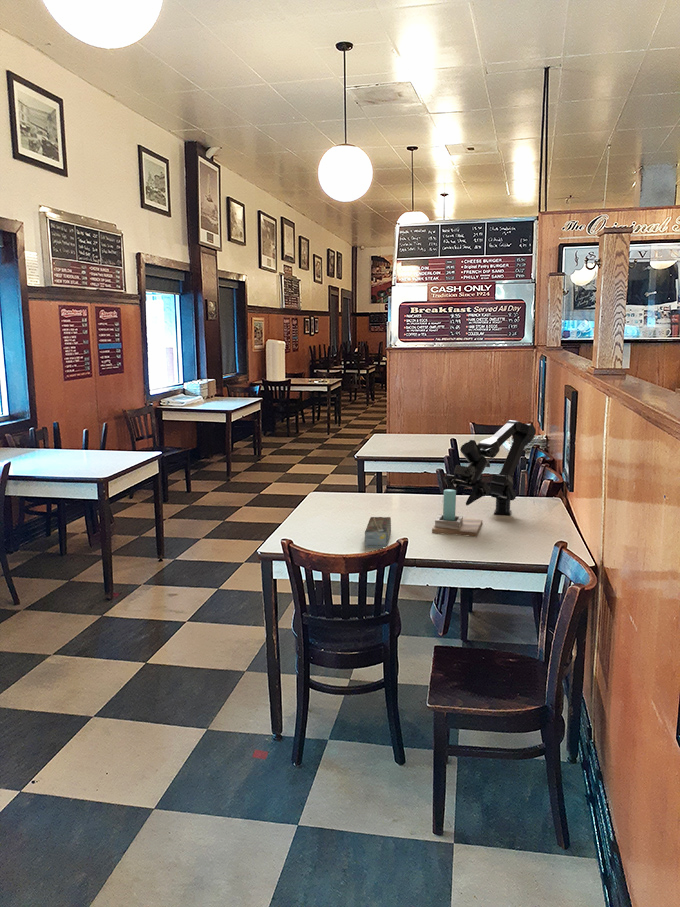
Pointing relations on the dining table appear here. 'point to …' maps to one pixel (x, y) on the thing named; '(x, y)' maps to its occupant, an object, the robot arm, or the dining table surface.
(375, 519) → the beverage carton
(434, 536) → the dining table surface
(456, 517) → the base board
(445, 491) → the post
